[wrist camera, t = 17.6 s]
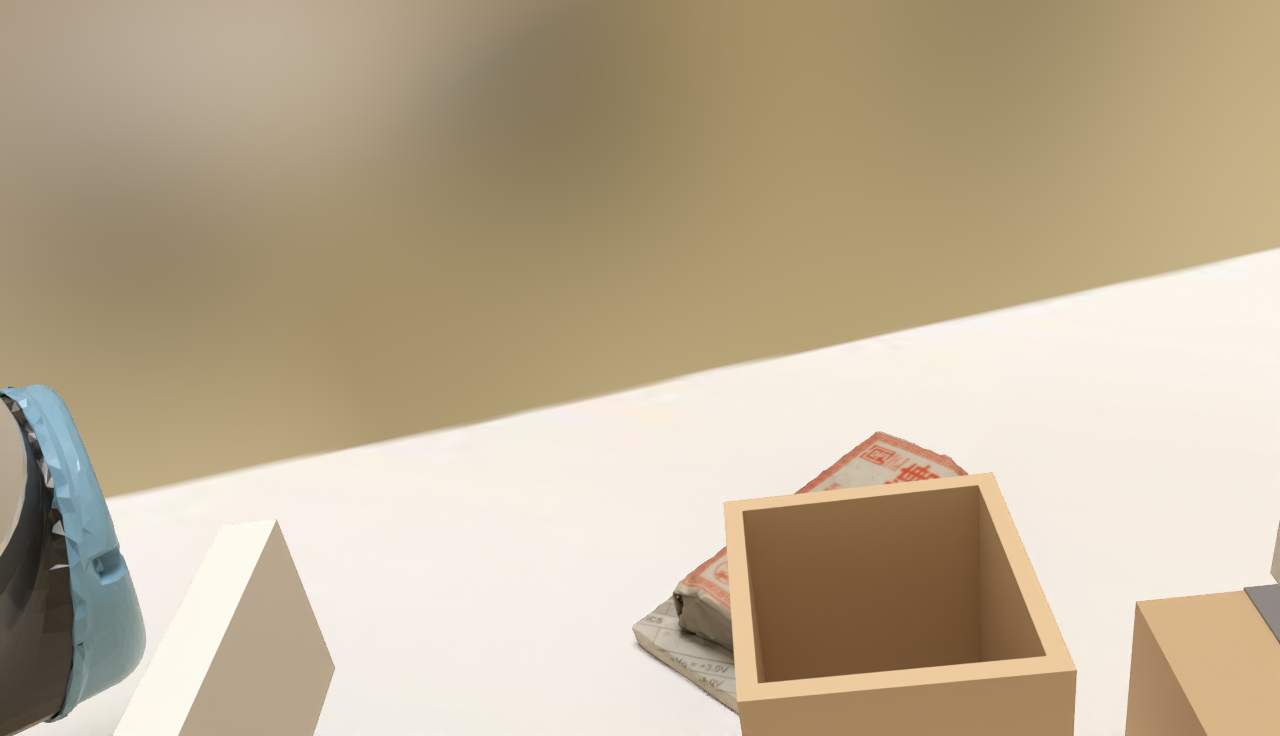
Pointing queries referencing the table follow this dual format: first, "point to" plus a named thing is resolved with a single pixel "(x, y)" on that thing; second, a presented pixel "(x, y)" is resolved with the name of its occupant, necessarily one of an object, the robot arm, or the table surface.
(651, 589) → the table surface
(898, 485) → the tan tall box
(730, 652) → the packaged product
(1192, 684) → the brown cardboard block
